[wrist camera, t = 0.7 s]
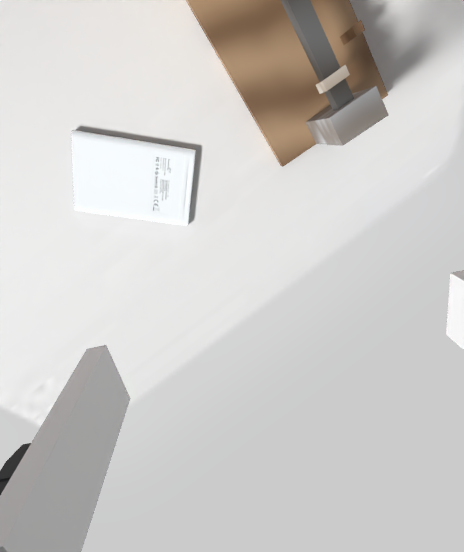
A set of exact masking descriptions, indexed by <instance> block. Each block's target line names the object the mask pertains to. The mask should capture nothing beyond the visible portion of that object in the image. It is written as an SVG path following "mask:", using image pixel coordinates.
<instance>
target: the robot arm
mask: <svg viewBox="0 0 464 552" xmlns="http://www.w3.org/2000/svg"><path fill="white" fill-rule="evenodd" d="M446 335H447V336H449V337H450V338H451V339H452V340H453V341H454V342H455V343H457V344H458V345H459V346H460V347H461V348H462V349H463V350H464V270H463V271H457V272H453V273H450V288H449V302H448V317H447V332H446ZM129 401H130V397H129V394H128V392H127V390H126V388H125V386H124V383H123V381H122V379H121V377H120V375H119V372H118V370H117V368H116V366H115V364H114V361H113V359H112V357H111V355H110V353H109V350H108V348H107V346H106V345H104V346H99V347H95V348H90V349H87V350H86V352H85V353H84V355H83V357H82V358H81V360H80V362H79V363H78V365H77V367H76V368H75V370H74V372H73V374H72V375H71V377H70V379H69V380H68V382H67V384H66V385H65V387H64V389H63V390H62V392H61V394H60V395H59V397H58V399H57V401H56V402H55V404H54V406H53V407H52V409H51V411H50V412H49V414H48V416H47V417H46V419H45V421H44V422H43V424H42V426H41V428H40V429H39V431H38V433H37V434H36V436H35V438H34V439H33V441H32V443H29V444H23V445H22V446H21V447H20V448H19V449H18V450H17V451H16V452H15V453H14V454H13V455H12V456H11V457H10V458H9V459H8V460H7V461H6V463H5V464H4V466H3V468H2V469H1V471H0V552H81V551H82V547H83V544H84V541H85V538H86V535H87V532H88V529H89V525H90V523H91V519H92V516H93V513H94V510H95V507H96V504H97V501H98V497H99V494H100V491H101V488H102V485H103V482H104V479H105V476H106V472H107V469H108V466H109V463H110V460H111V457H112V454H113V451H114V447H115V444H116V441H117V438H118V435H119V432H120V429H121V426H122V422H123V419H124V416H125V413H126V410H127V407H128V404H129Z"/></svg>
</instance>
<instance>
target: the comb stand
mask: <svg viewBox="0 0 464 552" xmlns="http://www.w3.org/2000/svg"><path fill="white" fill-rule="evenodd" d="M186 1H187V3H188V5H189V6H190V8H191V10H192V12H193V13H194V15H195V17H196V19H197V20H198V22H199V24H200V26H201V27H202V29H203V31H204V33H205V34H206V36H207V38H208V40H209V41H210V43H211V45H212V47H213V48H214V50H215V52H216V54H217V55H218V57H219V59H220V60H221V62H222V64H223V66H224V67H225V69H226V71H227V73H228V74H229V76H230V78H231V80H232V81H233V83H234V85H235V87H236V88H237V90H238V92H239V94H240V95H241V97H242V99H243V101H244V102H245V104H246V106H247V108H248V109H249V111H250V113H251V114H252V116H253V118H254V120H255V121H256V123H257V125H258V127H259V128H260V130H261V132H262V134H263V135H264V137H265V139H266V141H267V142H268V144H269V146H270V148H271V149H272V151H273V153H274V155H275V156H276V158H277V160H278V162H279V163H280V165H281V166H284V165H286V164H287V163H289V162H290V161H292V160H293V159H295V158H296V157H298V156H299V155H301V154H302V153H303V152H305V151H306V150H308V149H309V148H311V147H312V146H314V145H315V144H327V145H344V144H346V143H347V142H349V141H350V140H352V139H353V138H355V137H356V136H358V135H359V134H361V133H362V132H364V131H365V130H367V129H368V128H370V127H371V126H373V125H374V124H376V123H377V122H379V121H380V120H382V119H383V118H385V117H386V116H388V113H387V110H386V108H385V106H384V103H383V101H382V99H383V98H384V97H386V96H387V95H388V94H387V91H386V89H385V86H384V84H383V81H382V79H381V77H380V74H379V72H378V69H377V67H376V64H375V62H374V59H373V57H372V55H371V52H370V50H369V47H368V45H367V42H366V40H365V37H364V35H363V33H362V32H363V31H364V30H365V29H364V27H363V24H362V22H361V20H360V21H359V22H358V20H357V18H356V15H355V13H354V11H353V8H352V6H351V3H350V1H349V0H186Z"/></svg>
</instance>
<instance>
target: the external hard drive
mask: <svg viewBox="0 0 464 552" xmlns="http://www.w3.org/2000/svg"><path fill="white" fill-rule="evenodd" d="M71 141H72V168H73V196H74V210H75V211H82V212H88V213H96V214H103V215H111V216H118V217H125V218H133V219H140V220H147V221H154V222H162V223H169V224H177V225H184V226H188V224H189V214H190V204H191V193H192V183H193V175H194V165H195V156H196V150H194V149H188V148H182V147H176V146H170V145H164V144H158V143H152V142H146V141H139V140H133V139H127V138H120V137H114V136H108V135H102V134H95V133H89V132H83V131H76V130H72V133H71Z"/></svg>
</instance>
